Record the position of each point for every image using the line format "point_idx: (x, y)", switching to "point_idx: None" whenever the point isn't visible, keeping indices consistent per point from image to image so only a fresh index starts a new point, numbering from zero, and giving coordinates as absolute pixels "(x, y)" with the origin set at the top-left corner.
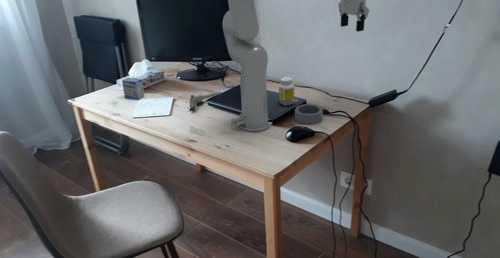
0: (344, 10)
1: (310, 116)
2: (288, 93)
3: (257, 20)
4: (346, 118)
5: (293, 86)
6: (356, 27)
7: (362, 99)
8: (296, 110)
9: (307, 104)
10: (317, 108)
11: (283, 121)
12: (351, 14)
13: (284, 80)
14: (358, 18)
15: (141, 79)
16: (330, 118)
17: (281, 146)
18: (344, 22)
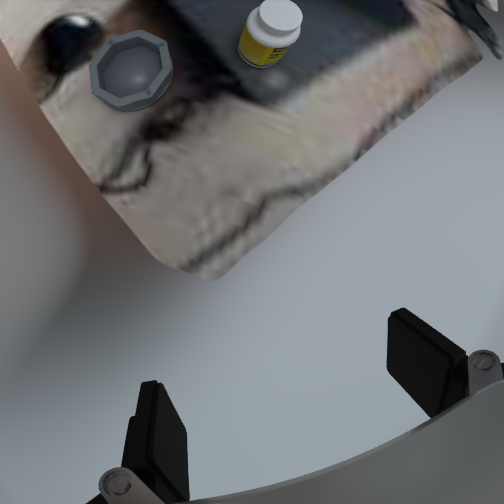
0: (442, 451)
1: (91, 64)
2: (244, 29)
3: None
4: (98, 177)
5: (259, 40)
6: (146, 403)
7: (212, 276)
8: (138, 33)
9: (166, 71)
10: (134, 95)
11: (146, 15)
12: (205, 501)
13: (267, 3)
14: (130, 492)
15: None
16: (112, 133)
17: (42, 8)
18: (406, 354)
